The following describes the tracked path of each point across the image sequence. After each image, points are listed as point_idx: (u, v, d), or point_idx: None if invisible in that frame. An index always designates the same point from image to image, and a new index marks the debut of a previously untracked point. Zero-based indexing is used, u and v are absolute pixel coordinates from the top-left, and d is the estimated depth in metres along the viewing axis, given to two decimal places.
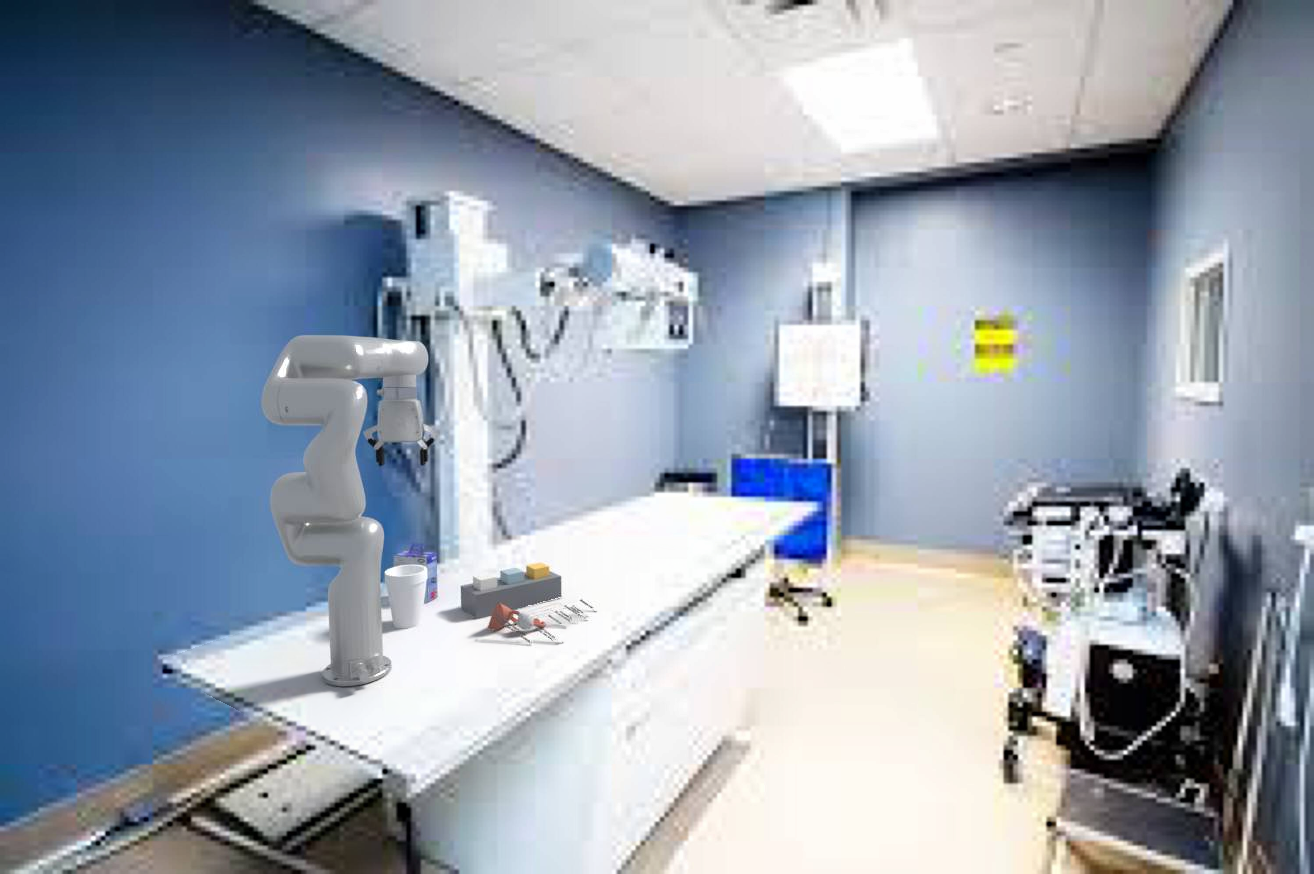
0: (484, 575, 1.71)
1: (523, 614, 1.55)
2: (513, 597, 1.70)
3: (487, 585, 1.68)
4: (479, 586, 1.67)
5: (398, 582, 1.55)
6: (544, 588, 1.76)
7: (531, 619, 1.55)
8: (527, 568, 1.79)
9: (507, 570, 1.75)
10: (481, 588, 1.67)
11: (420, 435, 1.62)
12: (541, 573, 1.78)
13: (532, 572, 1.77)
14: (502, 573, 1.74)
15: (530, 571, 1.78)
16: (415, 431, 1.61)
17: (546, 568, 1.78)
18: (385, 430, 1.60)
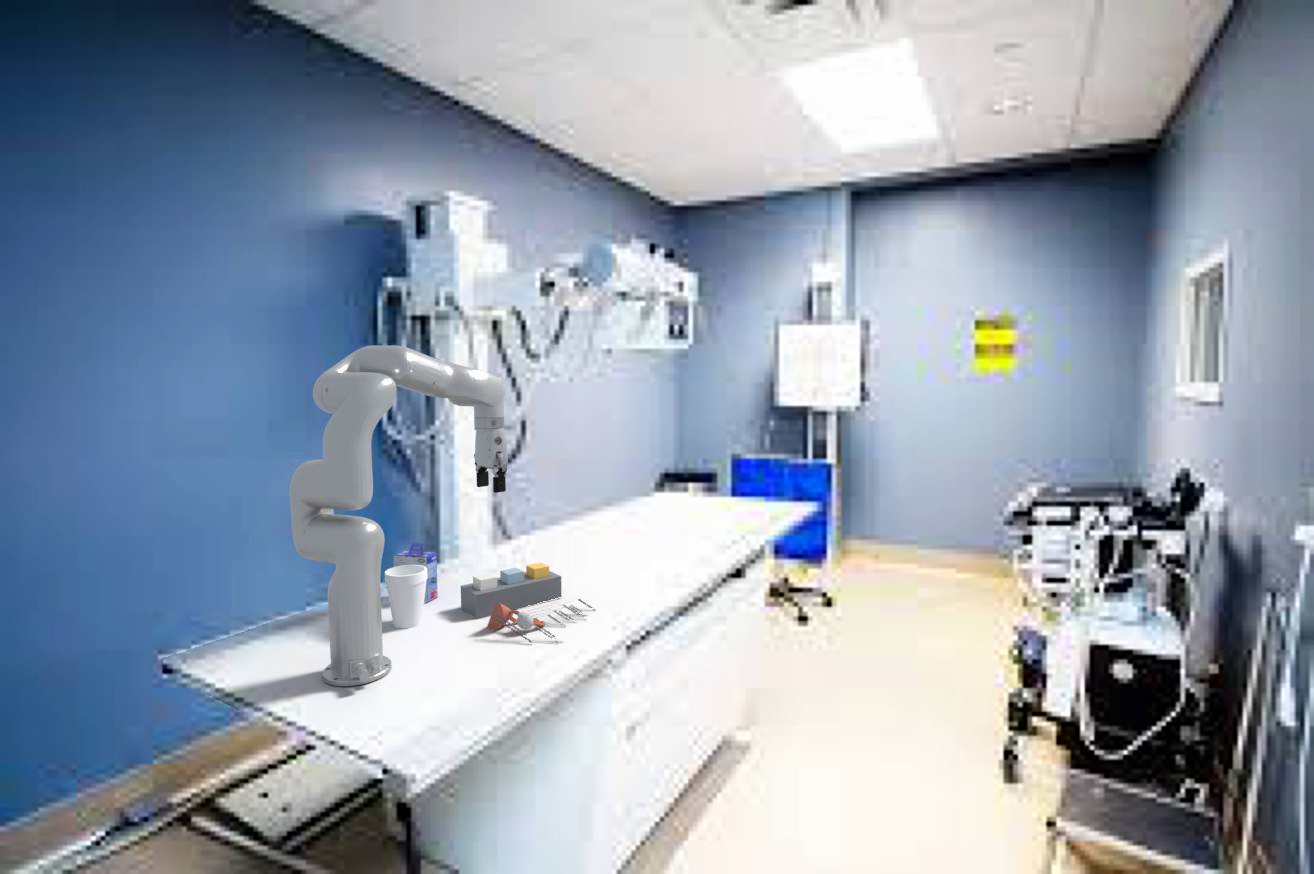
0: (484, 575, 1.71)
1: (523, 614, 1.55)
2: (513, 597, 1.70)
3: (487, 585, 1.68)
4: (479, 586, 1.67)
5: (398, 582, 1.55)
6: (544, 588, 1.76)
7: (531, 618, 1.56)
8: (527, 568, 1.79)
9: (507, 570, 1.75)
10: (481, 588, 1.67)
11: None
12: (541, 573, 1.78)
13: (532, 572, 1.77)
14: (502, 573, 1.74)
15: (530, 571, 1.78)
16: None
17: (546, 568, 1.78)
18: None
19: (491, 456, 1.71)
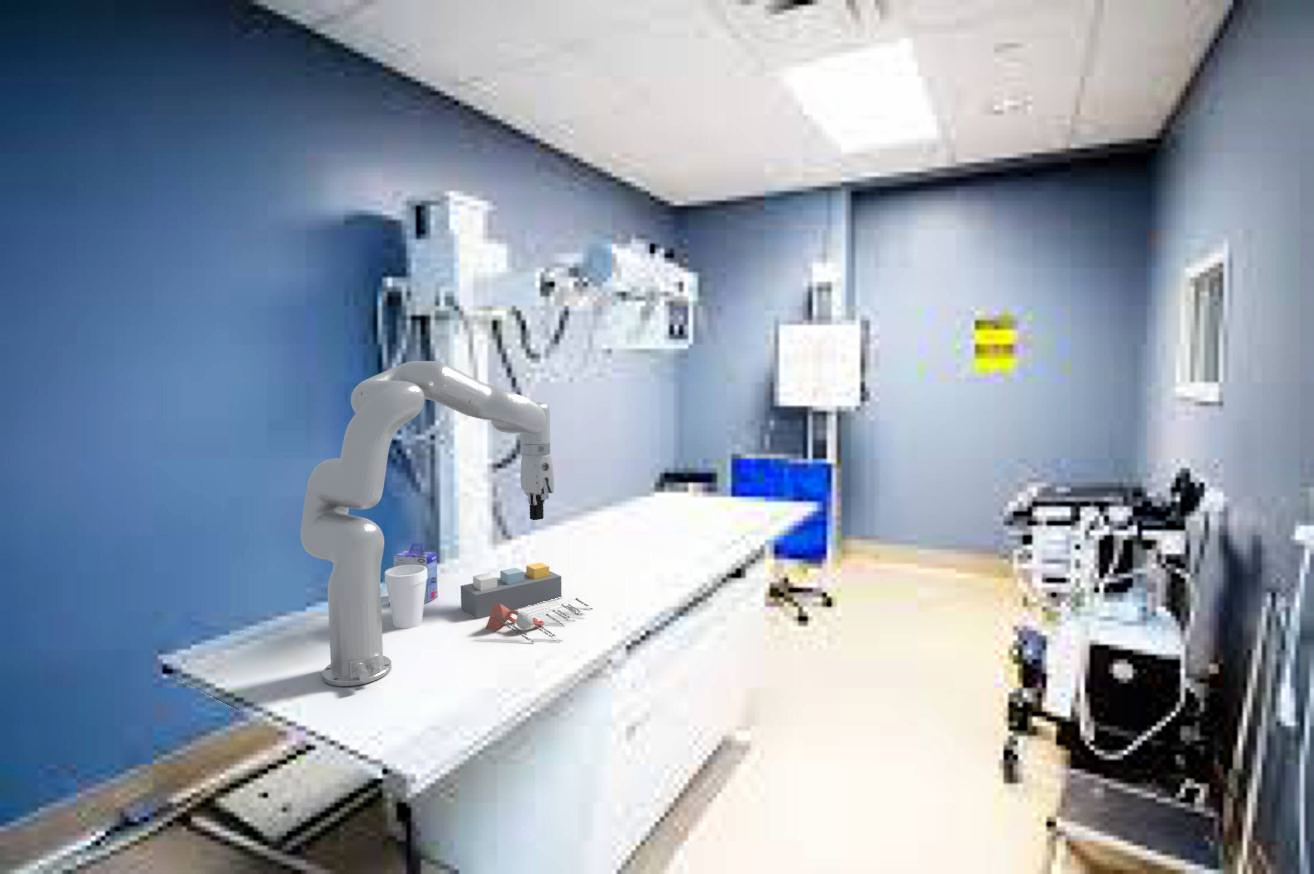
0: (484, 575, 1.71)
1: (522, 613, 1.56)
2: (513, 597, 1.70)
3: (487, 585, 1.68)
4: (479, 586, 1.67)
5: (398, 582, 1.55)
6: (544, 588, 1.76)
7: (530, 618, 1.56)
8: (527, 568, 1.79)
9: (507, 570, 1.75)
10: (481, 588, 1.67)
11: None
12: (541, 573, 1.78)
13: (532, 572, 1.77)
14: (502, 573, 1.74)
15: (530, 571, 1.78)
16: None
17: (546, 568, 1.78)
18: None
19: (538, 482, 1.72)
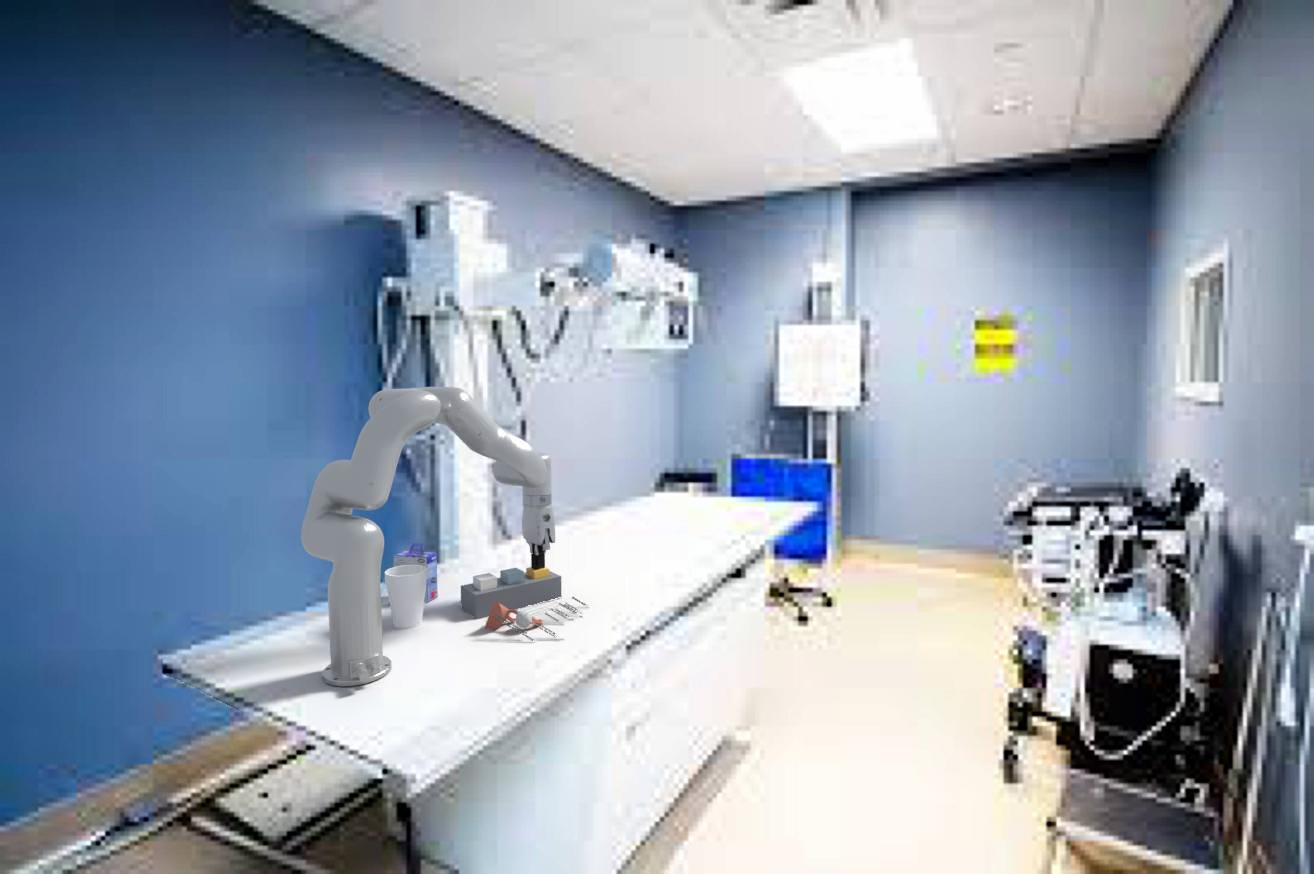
0: (484, 575, 1.71)
1: (522, 612, 1.56)
2: (513, 597, 1.70)
3: (487, 585, 1.68)
4: (479, 586, 1.67)
5: (398, 582, 1.55)
6: (544, 588, 1.76)
7: (530, 617, 1.57)
8: (527, 571, 1.79)
9: (507, 570, 1.75)
10: (481, 588, 1.67)
11: None
12: (541, 576, 1.78)
13: (532, 574, 1.77)
14: (502, 573, 1.74)
15: (530, 573, 1.78)
16: None
17: (546, 571, 1.78)
18: None
19: (540, 533, 1.73)
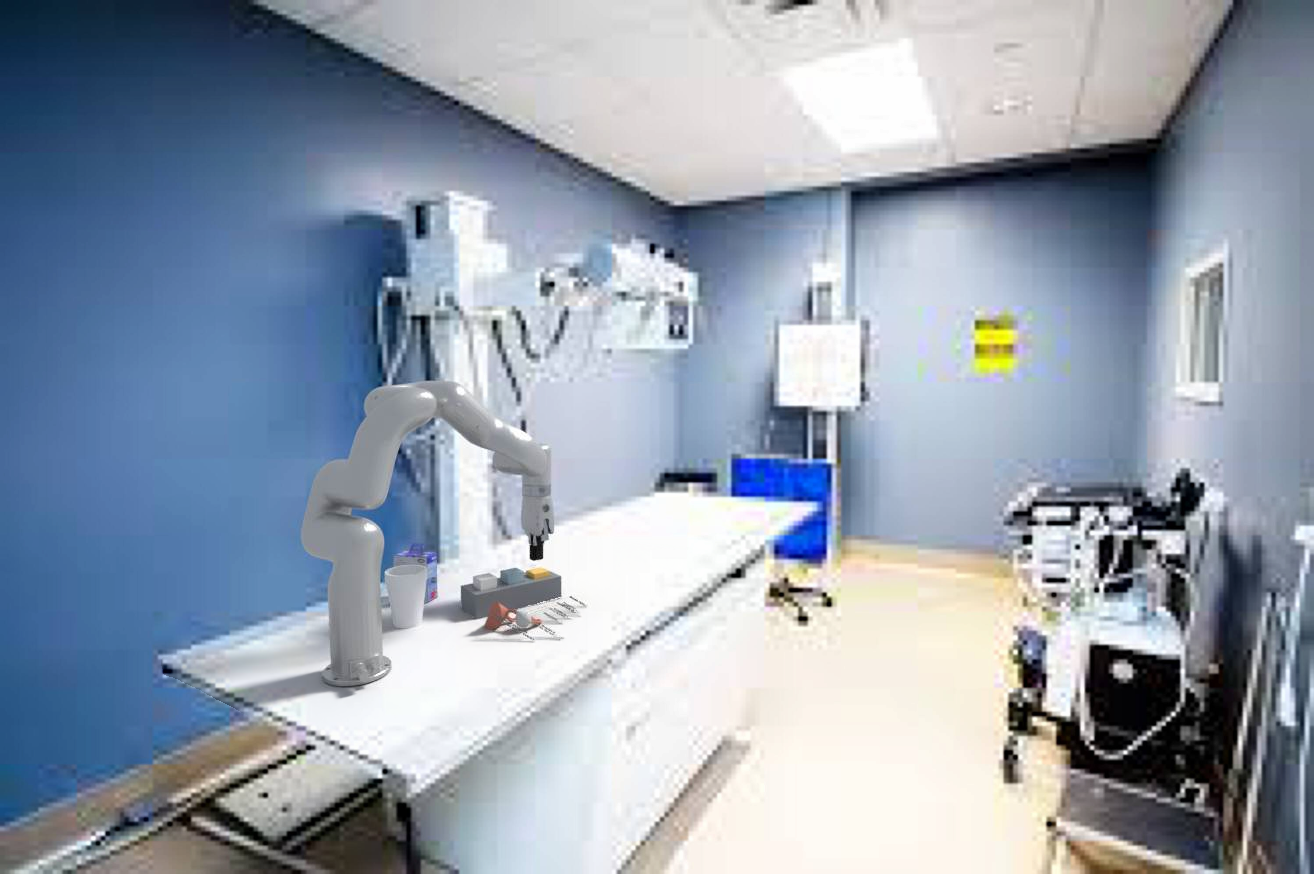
0: (484, 575, 1.71)
1: (521, 612, 1.56)
2: (513, 597, 1.70)
3: (487, 585, 1.68)
4: (479, 586, 1.67)
5: (398, 582, 1.55)
6: (544, 588, 1.76)
7: (529, 617, 1.57)
8: (527, 573, 1.79)
9: (507, 570, 1.75)
10: (481, 588, 1.67)
11: None
12: None
13: (532, 576, 1.77)
14: (502, 573, 1.74)
15: (530, 576, 1.78)
16: None
17: (546, 573, 1.79)
18: None
19: (539, 523, 1.73)
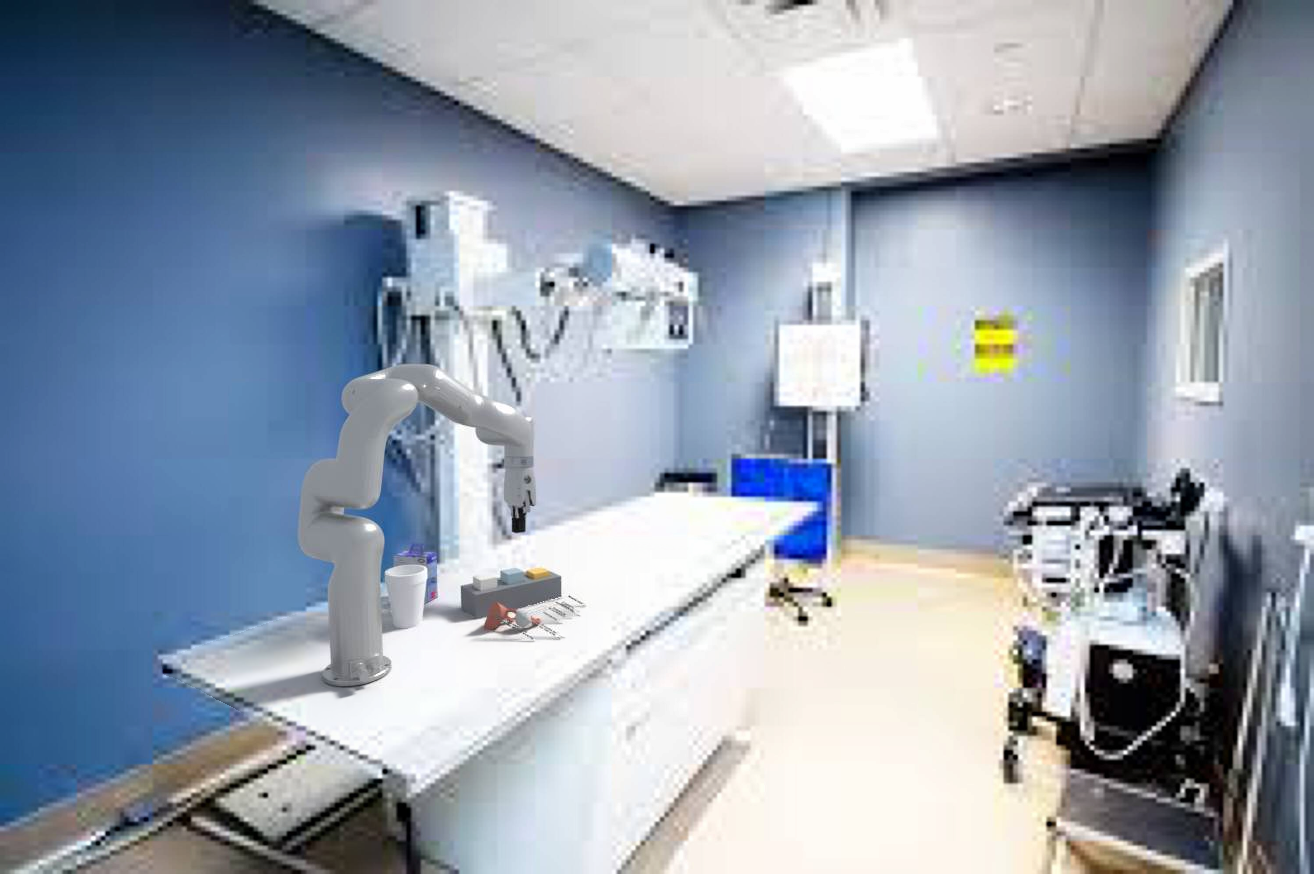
0: (484, 575, 1.71)
1: (521, 612, 1.57)
2: (513, 597, 1.70)
3: (487, 585, 1.68)
4: (479, 586, 1.67)
5: (398, 582, 1.55)
6: (544, 588, 1.76)
7: (529, 616, 1.57)
8: (527, 573, 1.79)
9: (507, 570, 1.75)
10: (481, 588, 1.67)
11: None
12: None
13: (532, 576, 1.77)
14: (502, 573, 1.74)
15: (530, 576, 1.78)
16: None
17: (546, 573, 1.79)
18: None
19: (520, 495, 1.72)
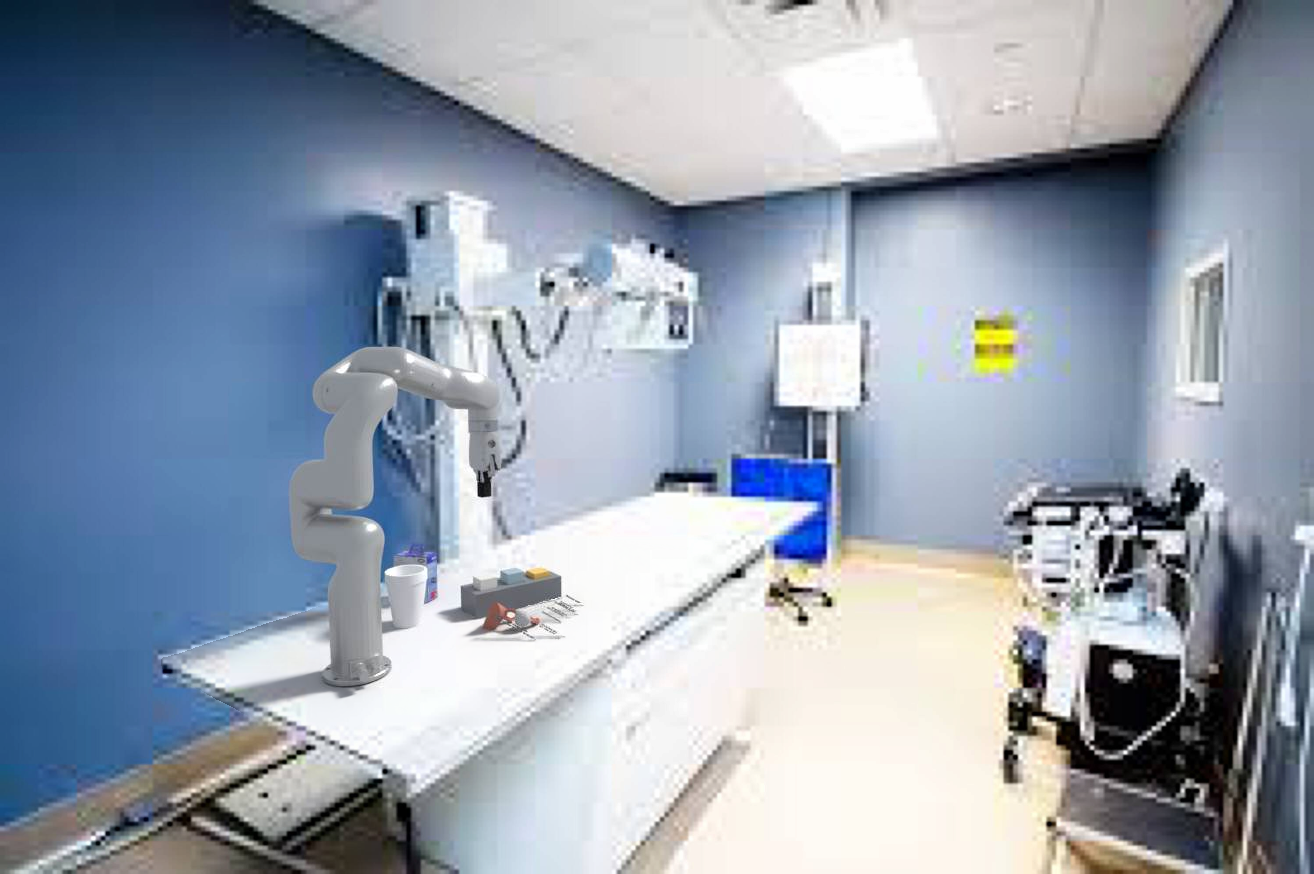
0: (484, 575, 1.71)
1: (521, 611, 1.57)
2: (513, 597, 1.70)
3: (487, 585, 1.68)
4: (479, 586, 1.67)
5: (398, 582, 1.55)
6: (544, 588, 1.76)
7: (529, 616, 1.57)
8: (527, 573, 1.79)
9: (507, 570, 1.75)
10: (481, 588, 1.67)
11: None
12: None
13: (532, 576, 1.77)
14: (502, 573, 1.74)
15: (530, 576, 1.78)
16: None
17: (546, 573, 1.79)
18: None
19: (485, 459, 1.72)
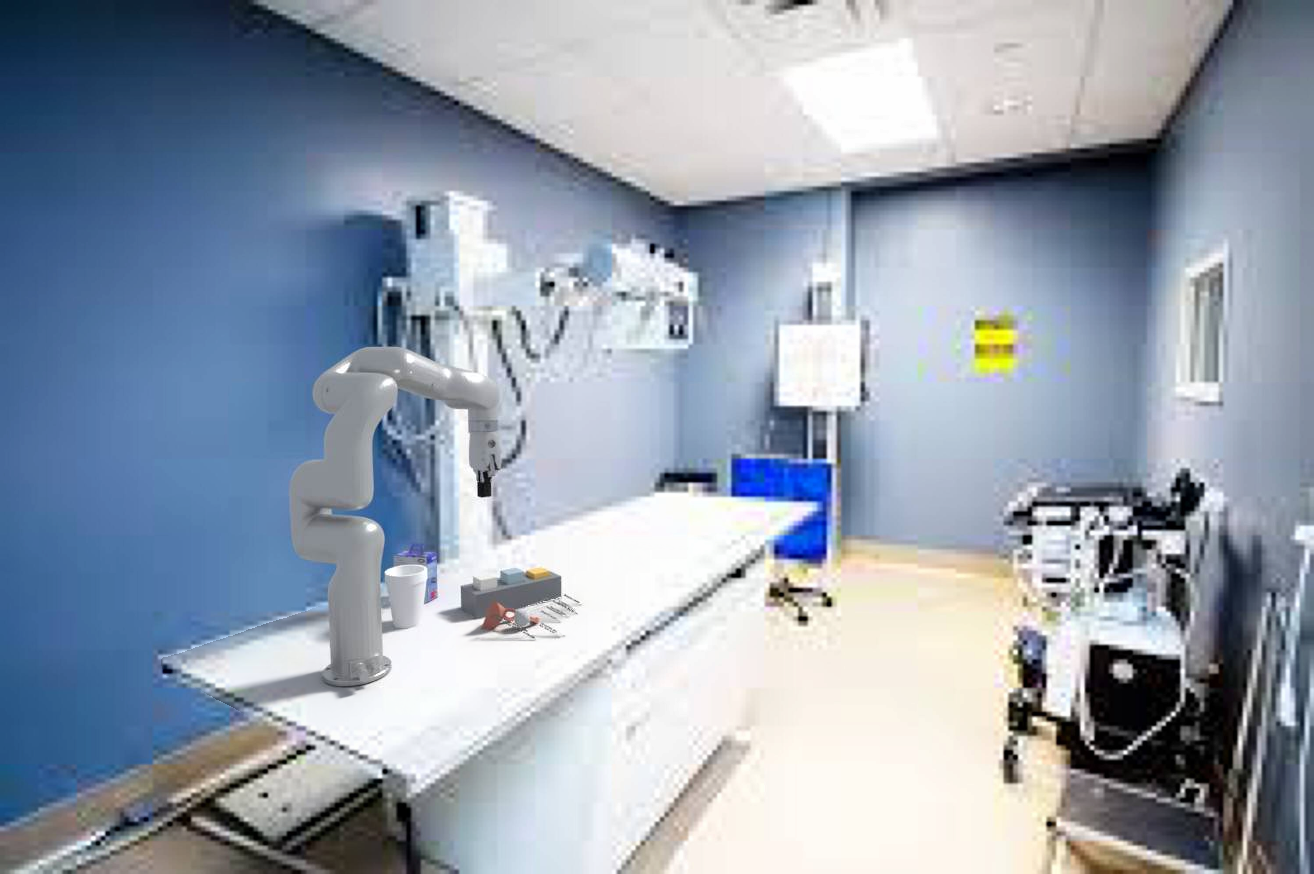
0: (484, 575, 1.71)
1: (520, 611, 1.57)
2: (513, 597, 1.70)
3: (487, 585, 1.68)
4: (479, 586, 1.67)
5: (398, 582, 1.55)
6: (544, 588, 1.76)
7: (528, 615, 1.58)
8: (527, 573, 1.79)
9: (507, 570, 1.75)
10: (481, 588, 1.67)
11: None
12: None
13: (532, 576, 1.77)
14: (502, 573, 1.74)
15: (530, 576, 1.78)
16: None
17: (546, 573, 1.79)
18: None
19: (484, 459, 1.72)
